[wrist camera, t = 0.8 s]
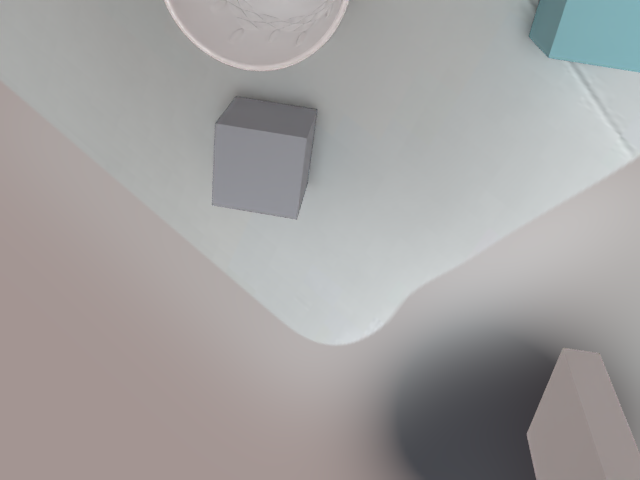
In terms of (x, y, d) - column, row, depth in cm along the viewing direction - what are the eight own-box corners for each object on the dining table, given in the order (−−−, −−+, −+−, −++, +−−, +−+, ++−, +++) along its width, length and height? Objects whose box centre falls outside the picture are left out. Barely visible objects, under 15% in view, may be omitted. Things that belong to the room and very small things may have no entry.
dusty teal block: (558, -65, 30) (585, -58, 26) (657, -50, 30) (700, -40, 26) (528, 36, 33) (548, 57, 29) (619, 50, 33) (652, 74, 28)
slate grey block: (236, 95, 36) (215, 123, 32) (317, 109, 36) (306, 138, 32) (232, 170, 39) (211, 205, 35) (307, 183, 39) (296, 219, 34)
